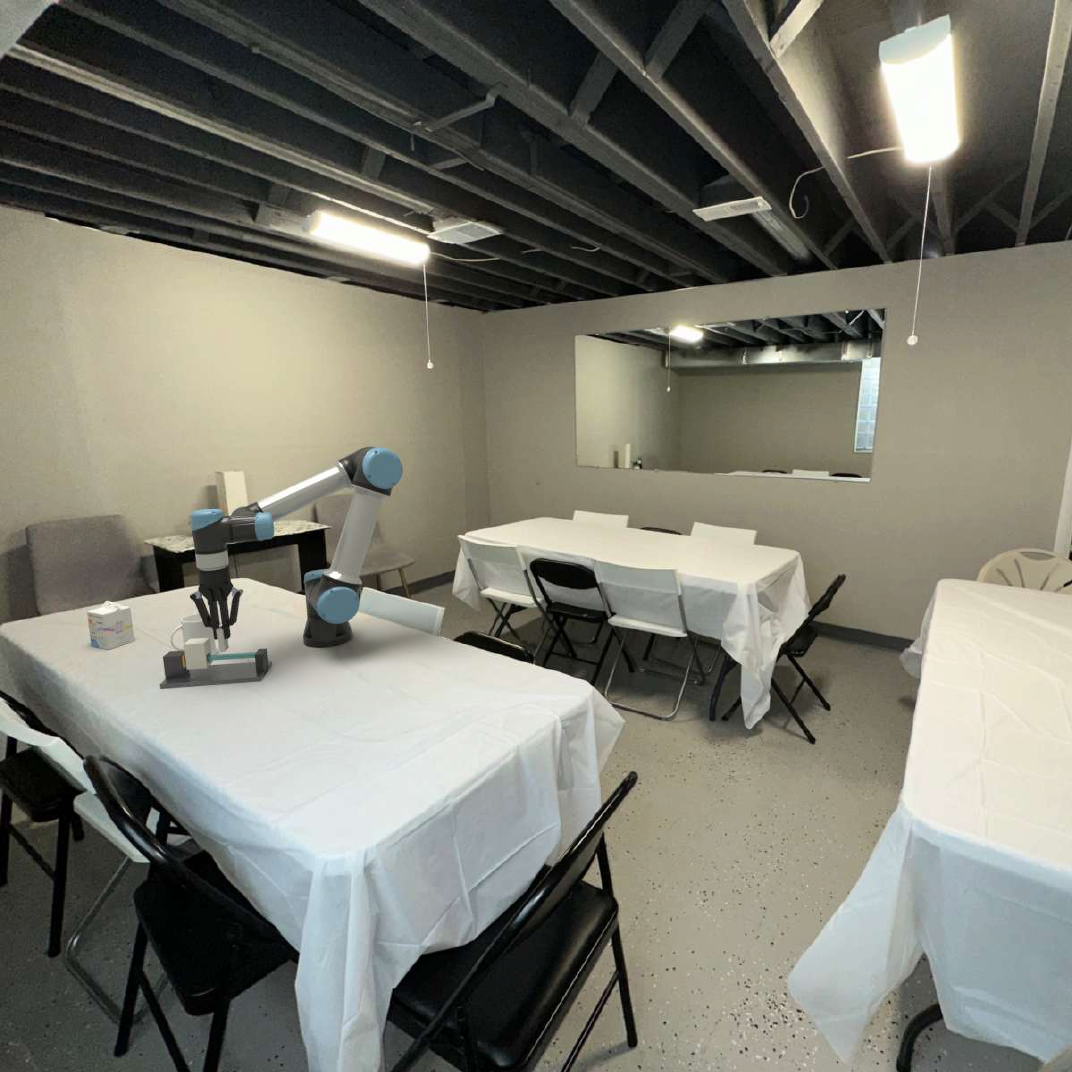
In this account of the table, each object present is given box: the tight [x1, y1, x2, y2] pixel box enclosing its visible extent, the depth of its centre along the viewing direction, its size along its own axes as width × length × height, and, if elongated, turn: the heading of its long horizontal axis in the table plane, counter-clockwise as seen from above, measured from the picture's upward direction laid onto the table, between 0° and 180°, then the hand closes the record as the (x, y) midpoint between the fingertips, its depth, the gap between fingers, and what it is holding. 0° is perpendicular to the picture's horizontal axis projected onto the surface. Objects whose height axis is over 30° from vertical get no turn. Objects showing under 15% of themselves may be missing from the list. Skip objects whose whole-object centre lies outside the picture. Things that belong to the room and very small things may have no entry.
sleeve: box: [183, 638, 213, 670], centre depth 155 cm, size 5×4×7 cm
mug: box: [169, 613, 218, 655], centre depth 170 cm, size 12×8×12 cm
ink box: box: [86, 600, 136, 651], centre depth 180 cm, size 9×8×13 cm
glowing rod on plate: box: [159, 647, 273, 689], centre depth 157 cm, size 25×11×7 cm, turn 100°
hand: (224, 649), depth 157 cm, fingers closed
